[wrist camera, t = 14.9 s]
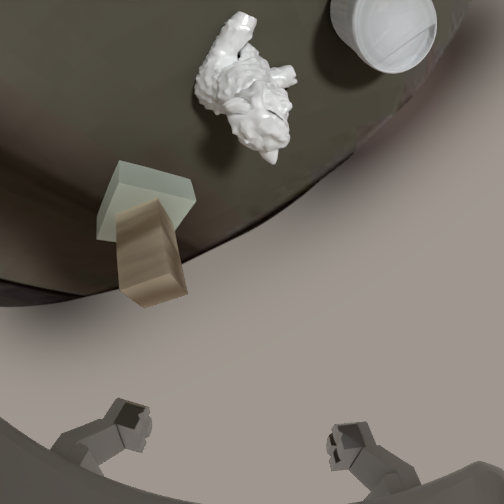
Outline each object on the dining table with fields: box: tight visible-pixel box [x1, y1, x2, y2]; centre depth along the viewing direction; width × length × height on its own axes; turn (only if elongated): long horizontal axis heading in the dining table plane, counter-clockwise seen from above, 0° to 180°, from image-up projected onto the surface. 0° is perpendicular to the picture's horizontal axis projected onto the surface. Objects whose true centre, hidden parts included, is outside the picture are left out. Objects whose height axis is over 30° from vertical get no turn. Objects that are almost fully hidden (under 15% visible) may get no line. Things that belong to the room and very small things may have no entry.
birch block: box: [116, 197, 188, 308], centre depth 26 cm, size 5×5×9 cm
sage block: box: [96, 160, 196, 242], centre depth 29 cm, size 9×9×4 cm
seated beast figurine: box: [194, 11, 297, 164], centre depth 18 cm, size 10×9×12 cm
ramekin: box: [330, 0, 437, 74], centre depth 15 cm, size 11×11×5 cm
